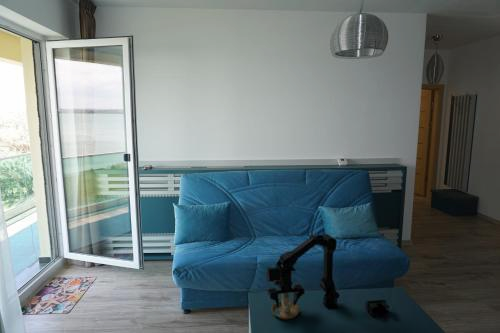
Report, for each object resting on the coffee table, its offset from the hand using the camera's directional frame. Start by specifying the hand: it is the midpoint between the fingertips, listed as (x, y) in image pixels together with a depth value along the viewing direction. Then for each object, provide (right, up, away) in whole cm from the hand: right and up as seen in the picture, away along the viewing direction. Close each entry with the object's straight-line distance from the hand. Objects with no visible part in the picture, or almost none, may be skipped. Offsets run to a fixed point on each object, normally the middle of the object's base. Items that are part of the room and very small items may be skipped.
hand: (285, 306), depth 175 cm
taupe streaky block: (0, -1, 0) cm, 1 cm away
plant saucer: (0, -4, +1) cm, 4 cm away
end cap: (+48, -4, 0) cm, 48 cm away
